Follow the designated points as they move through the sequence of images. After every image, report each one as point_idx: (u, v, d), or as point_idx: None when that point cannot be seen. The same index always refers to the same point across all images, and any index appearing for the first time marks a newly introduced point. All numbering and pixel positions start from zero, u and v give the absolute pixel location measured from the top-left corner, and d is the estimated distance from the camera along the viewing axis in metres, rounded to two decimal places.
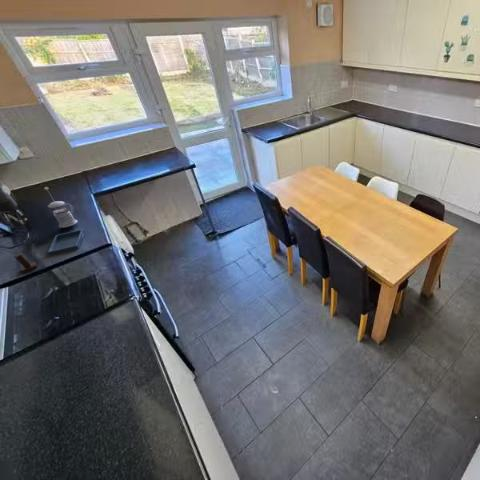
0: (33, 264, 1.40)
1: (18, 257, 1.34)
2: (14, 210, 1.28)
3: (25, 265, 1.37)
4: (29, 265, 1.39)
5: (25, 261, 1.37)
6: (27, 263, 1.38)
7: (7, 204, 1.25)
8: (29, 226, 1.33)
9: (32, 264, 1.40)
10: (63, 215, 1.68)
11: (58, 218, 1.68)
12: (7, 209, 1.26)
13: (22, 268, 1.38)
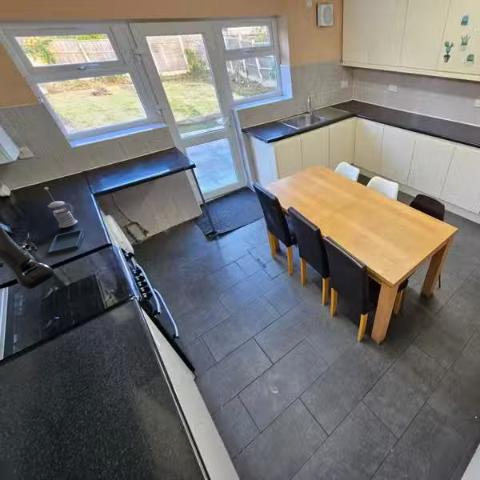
0: None
1: None
2: None
3: None
4: None
5: None
6: None
7: None
8: None
9: None
10: (63, 215, 1.68)
11: (58, 218, 1.68)
12: None
13: None
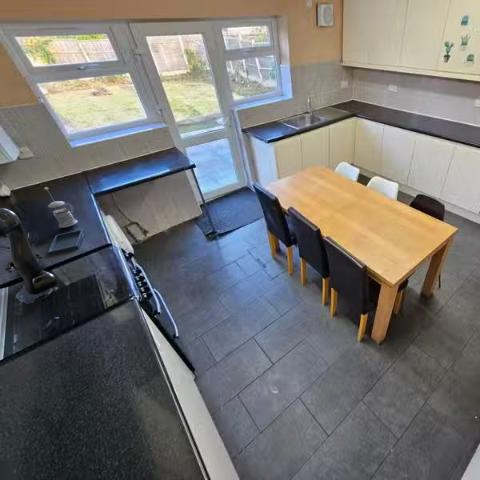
0: None
1: None
2: (16, 269, 1.29)
3: None
4: None
5: None
6: None
7: (18, 272, 1.27)
8: (12, 260, 1.34)
9: None
10: (63, 215, 1.68)
11: (58, 218, 1.68)
12: (15, 267, 1.28)
13: None
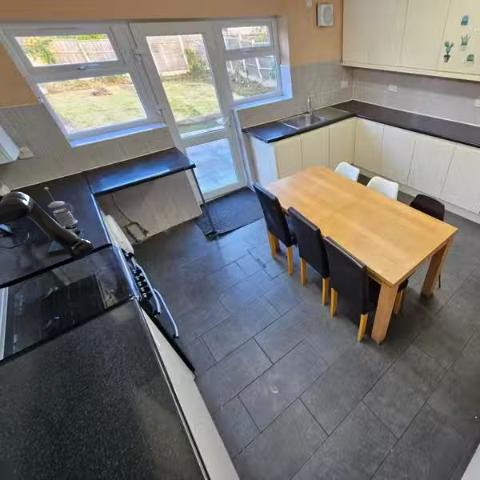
0: None
1: None
2: None
3: None
4: None
5: None
6: None
7: None
8: None
9: None
10: (63, 215, 1.68)
11: (58, 218, 1.68)
12: None
13: None
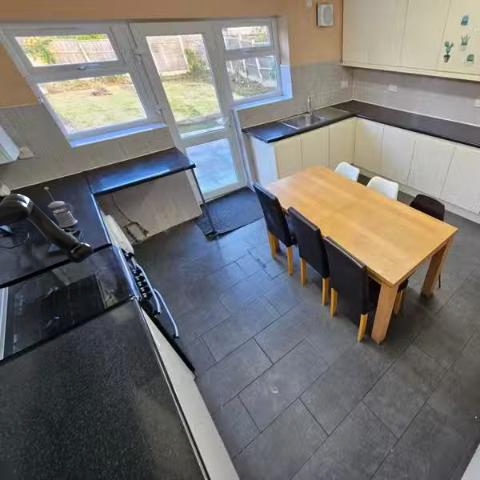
0: None
1: None
2: None
3: None
4: None
5: None
6: None
7: None
8: None
9: None
10: (63, 215, 1.68)
11: (58, 218, 1.68)
12: None
13: None
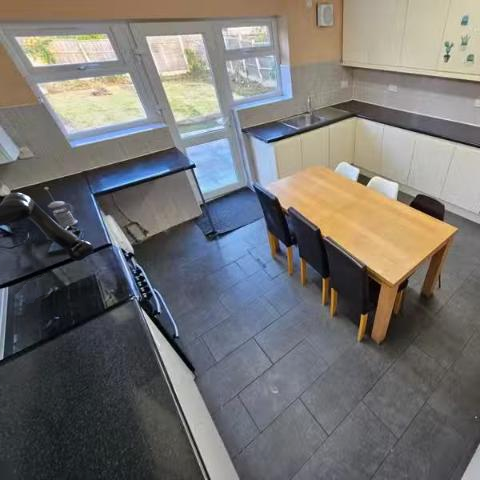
0: None
1: None
2: None
3: None
4: None
5: None
6: None
7: None
8: None
9: None
10: (63, 215, 1.68)
11: (58, 218, 1.68)
12: None
13: None
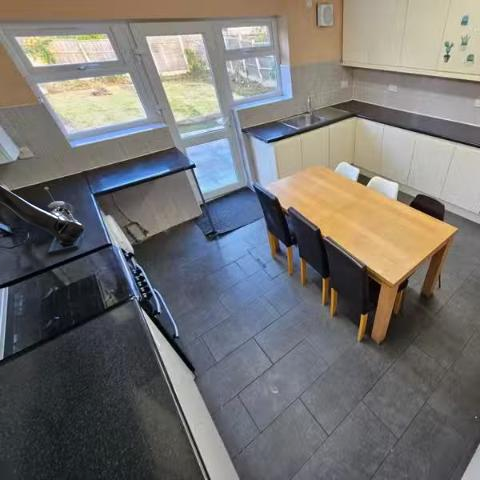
0: None
1: None
2: None
3: None
4: None
5: None
6: None
7: None
8: None
9: None
10: None
11: None
12: None
13: None
